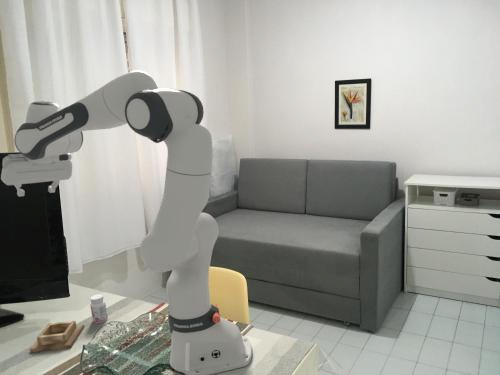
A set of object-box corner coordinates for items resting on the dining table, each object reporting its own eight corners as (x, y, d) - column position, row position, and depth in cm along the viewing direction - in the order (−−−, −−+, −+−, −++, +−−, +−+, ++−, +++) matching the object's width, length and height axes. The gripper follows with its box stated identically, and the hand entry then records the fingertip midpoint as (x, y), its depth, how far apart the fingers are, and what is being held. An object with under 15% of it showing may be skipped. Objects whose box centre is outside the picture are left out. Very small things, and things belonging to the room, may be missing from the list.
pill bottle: (89, 322, 139) (85, 298, 138) (100, 315, 143) (97, 292, 142) (100, 324, 137) (96, 300, 136) (110, 317, 141) (107, 294, 140)
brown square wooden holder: (84, 327, 136) (82, 317, 136) (71, 347, 124) (69, 337, 124) (47, 331, 136) (45, 321, 135) (30, 352, 124) (28, 341, 123)
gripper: (7, 158, 118) (4, 202, 122) (76, 155, 133) (72, 194, 138) (-2, 150, 121) (-4, 193, 126) (67, 148, 137) (62, 186, 141)
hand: (36, 193), depth 132 cm, fingers open, 8 cm apart
